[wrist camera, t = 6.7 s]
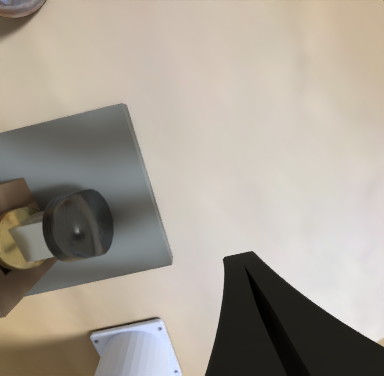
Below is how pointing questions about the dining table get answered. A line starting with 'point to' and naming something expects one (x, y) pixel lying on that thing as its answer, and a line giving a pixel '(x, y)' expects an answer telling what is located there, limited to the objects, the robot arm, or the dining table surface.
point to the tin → (19, 7)
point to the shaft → (56, 231)
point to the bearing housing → (78, 181)
